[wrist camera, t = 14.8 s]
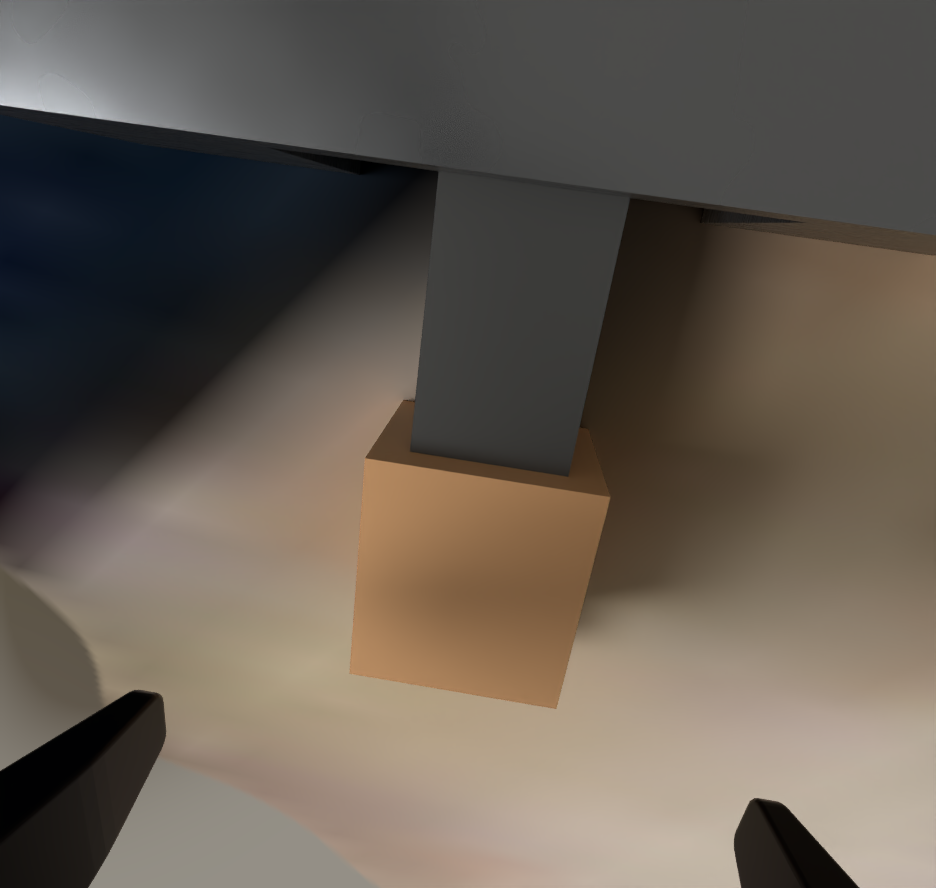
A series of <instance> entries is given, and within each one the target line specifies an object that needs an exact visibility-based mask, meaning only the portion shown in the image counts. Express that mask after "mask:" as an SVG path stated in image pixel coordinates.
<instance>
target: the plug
mask: <svg viewBox="0 0 936 888" xmlns="http://www.w3.org/2000/svg"><path fill="white" fill-rule="evenodd" d="M629 201H630V198H627V197H620V196H612V195H605V194H598V193H591V192H584V191H577V190H569V189H562V188H555V187H548V186H541V185H534V184H526V183H519V182H512V181H505V180H498V179H491V178H483V177H476V176H469V175H462V174H455V173H448V172H440V171H439V175H438V185H437V194H436V204H435V214H434V223H433V233H432V242H431V252H430V262H429V271H428V281H427V291H426V300H425V310H424V320H423V329H422V339H421V349H420V358H419V368H418V378H417V387H416V397H415V402H412V401H405V400H403V402H402V403H401V405H400V406H399V408H398V409H397V411H396V412H395V414H394V415H393V417H392V418H391V420H390V421H389V423H388V424H387V426H386V427H385V429H384V430H383V432H382V433H381V435H380V436H379V438H378V439H377V441H376V442H375V444H374V445H373V447H372V449H371V450H370V452H369V453H368V455H367V456H366V458H365V466H364V480H363V494H362V508H361V522H360V536H359V550H358V564H357V578H356V592H355V605H354V619H353V633H352V647H351V661H350V674H355V675H361V676H367V677H373V678H379V679H385V680H390V681H396V682H402V683H408V684H414V685H420V686H425V687H431V688H437V689H443V690H449V691H455V692H461V693H466V694H472V695H478V696H484V697H490V698H496V699H501V700H507V701H513V702H519V703H525V704H531V705H537V706H542V707H548V708H554V709H556V708H557V704H558V700H559V696H560V692H561V689H562V685H563V681H564V677H565V673H566V669H567V665H568V661H569V657H570V653H571V650H572V646H573V642H574V638H575V634H576V630H577V626H578V622H579V618H580V615H581V611H582V607H583V603H584V599H585V595H586V591H587V587H588V583H589V579H590V576H591V572H592V568H593V564H594V560H595V556H596V552H597V548H598V544H599V540H600V537H601V533H602V529H603V525H604V521H605V517H606V513H607V509H608V505H609V501H610V498H611V497H610V494H609V491H608V488H607V485H606V482H605V479H604V476H603V473H602V470H601V467H600V464H599V461H598V458H597V454H596V451H595V448H594V445H593V442H592V439H591V436H590V433H589V430H588V429H585V428H579V427H580V422H581V418H582V413H583V409H584V404H585V400H586V395H587V391H588V386H589V382H590V377H591V373H592V368H593V364H594V359H595V355H596V350H597V346H598V341H599V337H600V332H601V328H602V323H603V319H604V314H605V310H606V305H607V300H608V296H609V291H610V287H611V282H612V278H613V273H614V269H615V264H616V260H617V255H618V251H619V246H620V242H621V237H622V233H623V228H624V224H625V219H626V215H627V210H628V206H629Z"/></svg>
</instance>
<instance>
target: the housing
mask: <svg viewBox="0 0 936 888" xmlns="http://www.w3.org/2000/svg"><path fill="white" fill-rule="evenodd" d="M0 115H5V116H10V117H15V118H20V119H24V120H29V121H34V122H39V123H44V124H48V125H53V126H58V127H63V128H68V129H72V130H77V131H82V132H87V133H92V134H96V135H101V136H106V137H111V138H116V139H120V140H125V141H130V142H135V143H140V144H144V145H150V146H157V147H164V148H171V149H178V150H185V151H193V152H200V153H207V154H214V155H221V156H228V157H235V158H242V159H249V160H257V161H264V162H271V163H278V164H285V165H292V166H299V167H306V168H314V169H321V170H328V171H335V172H342V173H349V174H356V175H360V166H361V160H362V161H369V162H376V163H383V164H390V165H397V166H405V167H412V168H419V169H426V170H433V171H440V172H448V173H455V174H462V175H469V176H476V177H483V178H491V179H498V180H505V181H512V182H519V183H526V184H534V185H541V186H548V187H555V188H562V189H569V190H577V191H584V192H591V193H598V194H605V195H612V196H620V197H627V198H634V199H641V200H648V201H655V202H663V203H670V204H677V205H684V206H691V207H698V208H704V212H703V215H702V219H701V223H705V224H712V225H719V226H727V227H734V228H741V229H748V230H755V231H762V232H769V233H776V234H784V235H791V236H798V237H805V238H812V239H819V240H826V241H833V242H841V243H848V244H855V245H862V246H869V247H876V248H883V249H890V250H897V251H905V252H912V253H919V254H926V255H936V0H0Z"/></svg>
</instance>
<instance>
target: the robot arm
mask: <svg viewBox="0 0 936 888" xmlns="http://www.w3.org/2000/svg"><path fill="white" fill-rule="evenodd" d="M165 737H166V724H165V713H164V702H163V698H162V696H161V695H160V694H158V693H155V692H149V691H143V690H134V691H131V692H129V693H127V694H125V695H124V696H122V697H120V698H119V699H117V700H116V701H114V702H112V703H111V704H109V705H107V706H106V707H104V708H102V709H101V710H99V711H98V712H96V713H94V714H93V715H92V716H89V717H88V718H86V719H85V720H83V721H81V722H79V723H78V724H77V725H75V726H73V727H71V728H70V729H68V730H66V731H65V732H63V733H62V734H60V735H58V736H57V737H55V738H53V739H52V740H50V741H48V742H47V743H45V744H43V745H42V746H40V747H39V748H37V749H35V750H34V751H32V752H30V753H29V754H27V755H26V756H24V757H22V758H21V759H19V760H17V761H16V762H14V763H12V764H11V765H9V766H7V767H6V768H4V769H2V770H1V771H0V888H88V887H89V886H90V884H91V882H92V881H93V879H94V877H95V876H96V874H97V873H98V871H99V869H100V867H101V866H102V864H103V862H104V861H105V859H106V857H107V855H108V854H109V852H110V850H111V848H112V846H113V844H114V842H115V840H116V838H117V837H118V835H119V833H120V831H121V829H122V827H123V825H124V823H125V821H126V819H127V817H128V815H129V813H130V811H131V809H132V807H133V805H134V803H135V801H136V799H137V797H138V795H139V793H140V791H141V789H142V787H143V785H144V783H145V781H146V779H147V777H148V775H149V773H150V771H151V769H152V767H153V765H154V763H155V761H156V759H157V757H158V755H159V753H160V751H161V749H162V747H163V744H164V741H165ZM734 851H735V857H736V862H737V868H738V873H739V878H740V883H741V888H859V887H858V886H857V885H856V883H855V882H854V881H853V880H852V879H851V878H850V877H849V876H848V875H847V873H846V872H845V871H844V870H843V869H842V868H841V867H840V866H839V865H838V863H837V862H836V861H835V860H834V859H833V858H832V857H831V856H830V855H829V854H828V852H827V851H826V850H825V849H824V848H823V847H822V846H821V845H820V844H819V842H818V841H817V840H816V839H815V838H814V837H813V836H812V835H811V834H810V832H809V831H808V830H807V829H806V828H805V827H804V826H803V825H802V824H801V822H800V821H799V820H798V819H797V818H796V817H795V816H794V815H793V814H792V812H791V811H790V810H789V809H788V808H787V807H786V806H784V805H783V804H782V803H780V802H776V801H771V800H765V799H760V798H754V799H753V800H751V801H750V802H749V804H748V806H747V808H746V810H745V813H744V815H743V817H742V819H741V821H740V823H739V826H738V828H737V830H736V833H735V837H734Z"/></svg>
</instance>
